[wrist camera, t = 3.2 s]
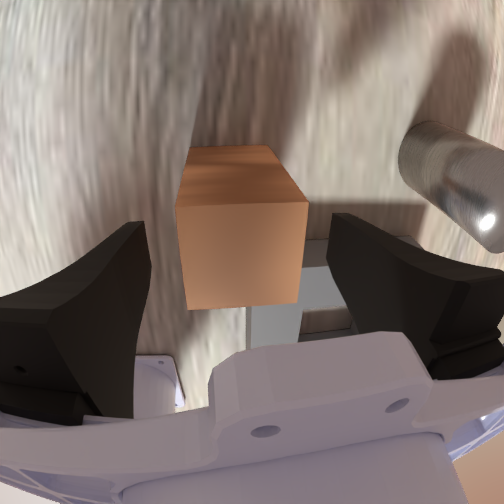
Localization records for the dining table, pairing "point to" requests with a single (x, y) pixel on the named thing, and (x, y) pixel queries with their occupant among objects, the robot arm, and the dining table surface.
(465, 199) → the round dowel
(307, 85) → the dining table surface
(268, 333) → the bore block
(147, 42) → the dining table surface
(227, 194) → the square peg
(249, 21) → the dining table surface
